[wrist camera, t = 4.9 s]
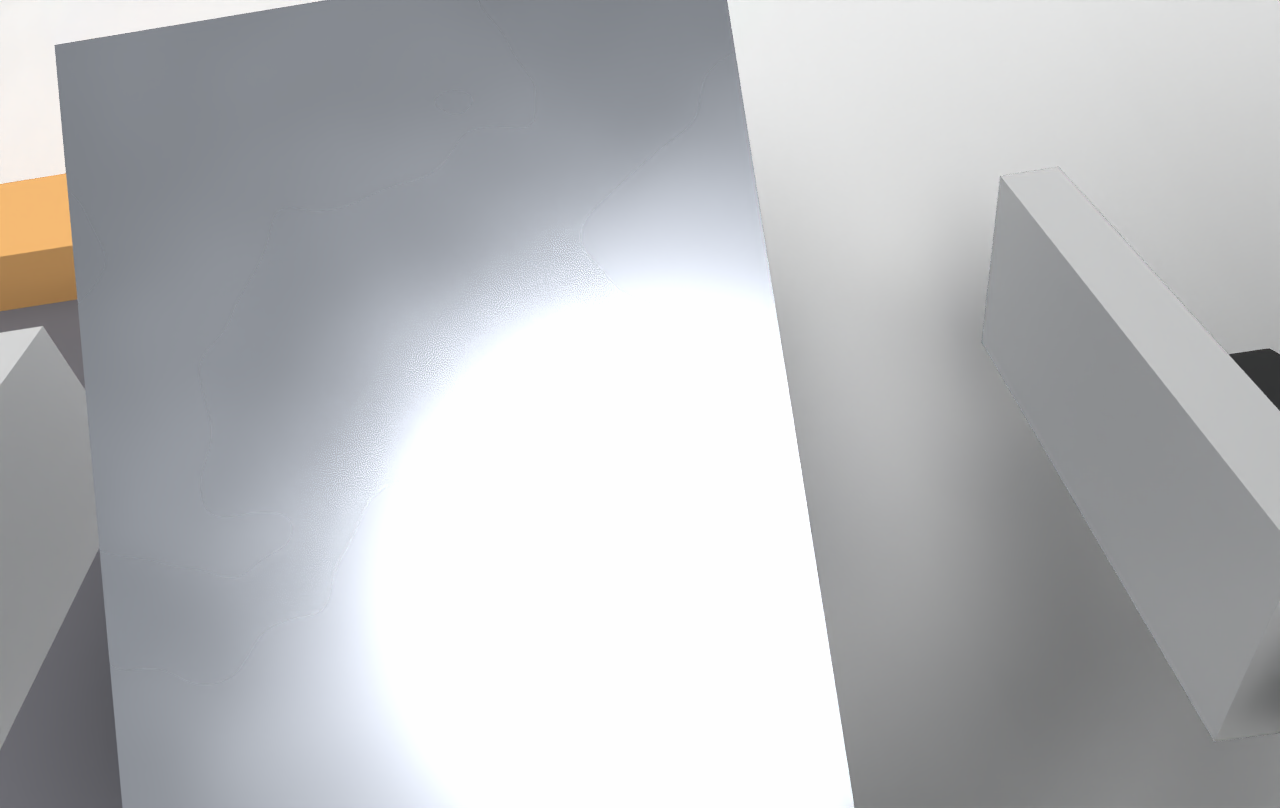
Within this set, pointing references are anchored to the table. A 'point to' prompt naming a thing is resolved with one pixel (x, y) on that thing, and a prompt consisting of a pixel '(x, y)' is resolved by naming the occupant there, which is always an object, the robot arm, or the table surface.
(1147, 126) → the table surface
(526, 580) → the alu block
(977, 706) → the table surface
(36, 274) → the coupler dock
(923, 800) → the table surface
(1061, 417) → the robot arm
